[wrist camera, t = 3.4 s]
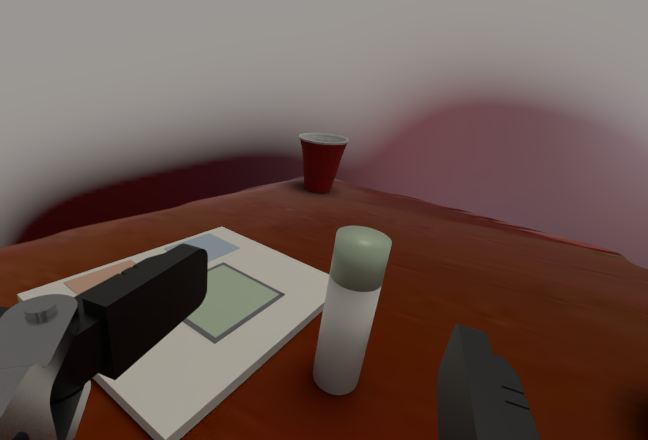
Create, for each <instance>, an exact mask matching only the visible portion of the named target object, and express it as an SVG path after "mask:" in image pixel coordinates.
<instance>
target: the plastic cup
mask: <svg viewBox="0 0 648 440" xmlns="http://www.w3.org/2000/svg"><path fill="white" fill-rule="evenodd" d="M299 138H300V140H301V145H302V152H303V169H304V185H305V189H306V190H308V191H311V192H315V193H328V192H329V191H330V189H331V187H332V184H333V181H334V178H335V176H336V173H337V170H338V167H339V163H340V160H341V157H342V154H343V152H344V149H345V147H346V144H347V143H348V142H349V139H348V138H346V137H343V136H339V135H334V134H326V133H303V134H300V135H299Z"/></svg>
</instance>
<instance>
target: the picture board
mask: <svg viewBox="0 0 648 440" xmlns="http://www.w3.org/2000/svg"><path fill="white" fill-rule="evenodd" d="M183 243H185V244H189V245H192V246H195V247H199V248H202V249H205V250H206V251H207V254H208V279H207V294H206V297H205V299H204V301H203V303H202V304H201V305H200V307H199V308H197V309H196V310H195V311H194V312H193V313H192V314H191V315H189V316H188V317H187V318H186V319H185V320H184V321H183V322H181V323H180V324H179V325H178V326H177V327H176V328H175V329H173V330H172V331H171V332H170V333H169V334H168V335H167V336H165V337H164V338H163V339H162V340H161V341H160V342H159V343H157V344H156V345H155V346H154V347H153V348H152V349H151V350H149V351H148V352H147V353H146V354H145V355H144V356H142V357H141V358H140V359H139V360H138V361H137V362H136V363H134V364H133V365H132V366H131V367H130V368H129V369H128V370H126V371H125V372H124V373H123V374H122V375H121V376H120V377H118V378H117V379H116V380H113V379H110V378H108V377H106V376H103V375H101V374H99V373H98V374H97V375H96V376H94V377H93V379H94V380H95V381H96V382H97V383H98V384H99V385H100V386H101V387H102V388H103V389H104V390H105V391H106V392H107V393H108V394H109V395H110V396H111V397H112V398H113V399H114V400H115V401H116V402H117V403H118V404H119V405H120V406H121V407H122V408H123V409H124V410H125V411H126V412H127V413H128V414H129V415H130V416H131V417H132V418H133V419H134V420H135V421H136V422H137V423H138V424H139V425H140V426H141V427H142V428H143V429H144V430H145V431H146V432H147V433H148V434H149V435H150V436H151V437H152V438H153V439H154V440H180V439H181V438H182V437H183V436H184V435H185V434H186V433H187V432H189V431H190V430H191V429H192V428H193V427H194V426H195V425H196V424H197V423H199V422H200V421H201V420H202V419H203V418H204V417H205V416H206V415H207V414H209V413H210V412H211V411H212V410H213V409H214V408H215V407H216V406H217V405H218V404H220V403H221V402H222V401H223V400H224V399H225V398H226V397H227V396H228V395H230V394H231V393H232V392H233V391H234V390H235V389H236V388H237V387H238V386H240V385H241V384H242V383H243V382H244V381H245V380H246V379H247V378H248V377H250V376H251V375H252V374H253V373H254V372H255V371H256V370H257V369H258V368H260V367H261V366H262V365H263V364H264V363H265V362H266V361H267V360H268V359H269V358H271V357H272V356H273V355H274V354H275V353H276V352H277V351H278V350H279V349H281V348H282V347H283V346H284V345H285V344H286V343H287V342H288V341H289V340H291V339H292V338H293V337H294V336H295V335H296V334H297V333H298V332H299V331H301V330H302V329H303V328H304V327H305V326H306V325H307V324H308V323H309V322H311V321H312V320H313V319H314V318H315V317H316V316H317V315H318V314H319V313H321V312H322V311H323V309H324V303H325V297H326V292H327V286H328V280H329V274H326V273H324V272H322V271H320V270H317V269H315V268H313V267H311V266H308V265H306V264H304V263H302V262H300V261H297V260H295V259H293V258H291V257H288V256H286V255H284V254H282V253H280V252H277V251H275V250H273V249H271V248H268V247H266V246H264V245H262V244H259V243H257V242H255V241H253V240H251V239H248V238H246V237H244V236H242V235H239V234H237V233H235V232H233V231H231V230H228V229H226V228H224V227H219V228H216V229H213V230H210V231H207V232H204V233H201V234H198V235H195V236H192V237H189V238H186V239H183V240H180V241H177V242H174V243H171V244H168V245H165V246H162V247H159V248H156V249H153V250H150V251H147V252H144V253H140V254H137V255H134V256H131V257H128V258H125V259H122V260H119V261H116V262H113V263H110V264H107V265H104V266H101V267H98V268H95V269H92V270H89V271H86V272H83V273H80V274H77V275H74V276H71V277H68V278H65V279H62V280H59V281H56V282H53V283H50V284H47V285H44V286H41V287H38V288H35V289H32V290H29V291H26V292H23V293H20V294H17V297H18V301H19V303H20V302H23V301H25V300H28V299H31V298H34V297H38V296H42V295H49V294H64V295H69V296H72V297H75V296H77V295H79V294H80V293H82V292H84V291H86V290H88V289H90V288H92V287H94V286H95V285H97V284H99V283H101V282H103V281H105V280H107V279H109V278H110V277H112V276H114V275H116V274H118V273H119V274H121V272H122V271H124V270H125V269H127V268H129V267H133V265H135V264H137V263H139V262H140V261H142V260H144V259H146V258H149V257H152V256H156V255H159V254H163V253H165V252H167V251H169V250H171V249H173V248H174V247H176V246H178V245H180V244H183Z"/></svg>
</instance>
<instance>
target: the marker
mask: <svg viewBox="0 0 648 440" xmlns="http://www.w3.org/2000/svg"><path fill="white" fill-rule="evenodd" d="M391 244H392V241H391V239H390V238H389V237H388V236H387V235H385V234H384V233H382V232H380V231H377V230H375V229H371V228H368V227H362V226H345V227H342V228H340V229H338V230H337V234H336V239H335V245H334V251H333V257H332V263H331V268H330V274H329V280H328V286H327V292H326V297H325V303H324V309H323V315H322V320H321V326H320V332H319V338H318V344H317V349H316V355H315V361H314V367H313V378H314V381H315V383H316V384H317V385H318V387H319V388H321V389H322V390H323V391H325V392H327V393H329V394H333V395H345V394H348V393H350V392H352V391H353V390H354V389H355V388H356V386H357V383H358V379H359V375H360V371H361V367H362V363H363V359H364V355H365V351H366V347H367V343H368V339H369V334H370V330H371V326H372V322H373V318H374V314H375V310H376V306H377V302H378V298H379V294H380V289H381V285H382V281H383V277H384V273H385V269H386V265H387V261H388V257H389V253H390V249H391Z"/></svg>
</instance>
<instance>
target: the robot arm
mask: <svg viewBox="0 0 648 440" xmlns="http://www.w3.org/2000/svg"><path fill="white" fill-rule="evenodd" d="M207 279H208V254H207V251H206V250H205V249H202V248H199V247H195V246H192V245H189V244H185V243H183V244H180V245H178V246H176V247H174V248H173V249H171V250H169V251H167V252H165V253H163V254H159V255H156V256H152V257H149V258H146V259H144V260H142V261H140V262H139V263H137V264H135V265H133V267H129V268H127V269H125V270H124V271H122V272H121V274H119V273H118V274H116V275H114V276H112V277H110V278H109V279H107V280H105V281H103V282H101V283H99V284H97V285H95V286H94V287H92V288H90V289H88V290H86V291H84V292H82V293H80V294H79V295H77V296H75V297H72V296H69V295H64V294H49V295H42V296H38V297H34V298H31V299H28V300H25V301H23V302H20V303H18V304H16V305H14V306H13V307H11V308H7V307H0V440H74V438H75V435H76V432H77V429H78V426H79V423H80V420H81V417H82V414H83V411H84V407H85V404H86V401H87V398H88V395H89V392H90V388H91V383H90V380H91V379H92V378H93V377H94V376H96V375H97V374H98V373H99V374H101V375H103V376H106V377H108V378H110V379H113V380H116V379H117V378H118V377H120V376H121V375H122V374H123V373H124V372H125V371H126V370H128V369H129V368H130V367H131V366H132V365H133V364H134V363H136V362H137V361H138V360H139V359H140V358H141V357H142V356H144V355H145V354H146V353H147V352H148V351H149V350H151V349H152V348H153V347H154V346H155V345H156V344H157V343H159V342H160V341H161V340H162V339H163V338H164V337H165V336H167V335H168V334H169V333H170V332H171V331H172V330H173V329H175V328H176V327H177V326H178V325H179V324H180V323H181V322H183V321H184V320H185V319H186V318H187V317H188V316H189V315H191V314H192V313H193V312H194V311H195V310H196V309H197V308H199V307H200V305H201V304H202V303H203V301H204V299H205V297H206V294H207ZM437 412H438V437H439V440H540V437H539V434H538V431H537V428H536V425H535V423H534V420H533V417H532V414H531V412H529V405H528V403H527V400H526V397H525V396H524V391H523V388H522V385H521V382H520V380H519V377H518V374H517V373H516V372H515V371H514V369H513V368H512V367H511V366H510V364H509V363H508V362H507V360H506V359H505V358H504V357H501V356H498V355H495V354H492V350H491V347H490V343H489V339H488V336H487V333H486V332H484V331H480V330H477V329H473V328H470V327H466V326H463V325H460V324H456V325H455V327H454V329H453V331H452V334H451V337H450V340H449V342H448V345H447V348H446V351H445V353H444V356H443V359H442V362H441V364H440V368H439V372H438V377H437Z"/></svg>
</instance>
